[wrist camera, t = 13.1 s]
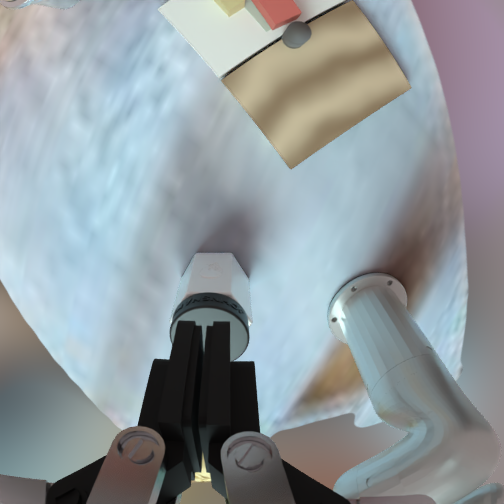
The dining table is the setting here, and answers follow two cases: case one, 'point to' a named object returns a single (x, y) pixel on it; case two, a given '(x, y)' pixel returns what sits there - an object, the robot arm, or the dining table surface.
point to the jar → (215, 298)
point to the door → (231, 28)
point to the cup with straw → (38, 3)
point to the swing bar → (277, 11)
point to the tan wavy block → (317, 82)
